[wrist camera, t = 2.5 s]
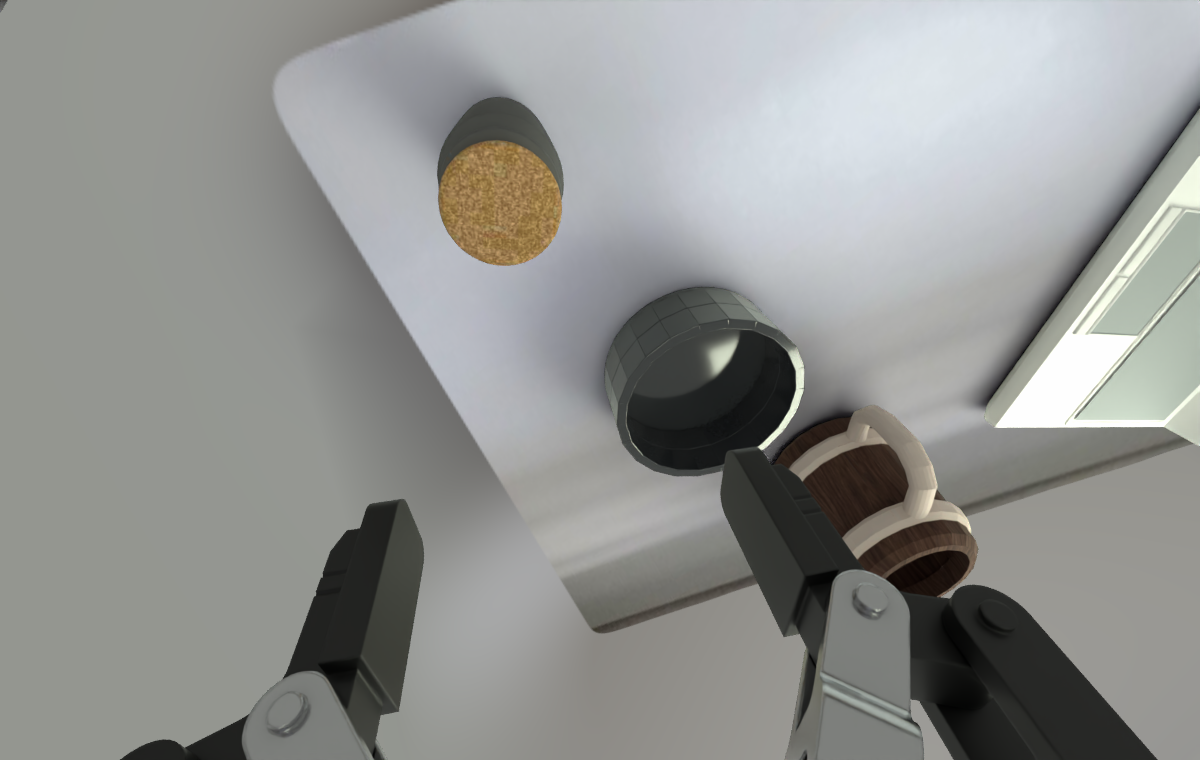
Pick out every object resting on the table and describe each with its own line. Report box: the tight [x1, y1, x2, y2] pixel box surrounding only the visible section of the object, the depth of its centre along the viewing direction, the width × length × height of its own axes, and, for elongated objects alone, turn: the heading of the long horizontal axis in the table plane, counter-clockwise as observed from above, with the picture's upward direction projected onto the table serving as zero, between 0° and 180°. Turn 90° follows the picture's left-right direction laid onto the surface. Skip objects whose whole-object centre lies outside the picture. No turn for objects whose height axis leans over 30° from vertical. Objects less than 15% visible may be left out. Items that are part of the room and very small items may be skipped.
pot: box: [604, 287, 804, 476], centre depth 40 cm, size 16×16×6 cm
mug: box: [774, 405, 978, 597], centre depth 46 cm, size 20×15×15 cm
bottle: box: [437, 97, 564, 266], centre depth 24 cm, size 6×6×15 cm
